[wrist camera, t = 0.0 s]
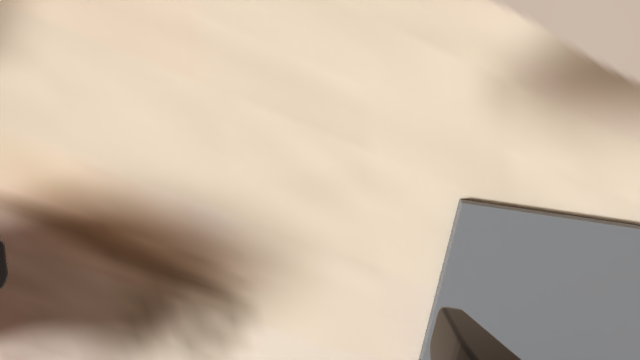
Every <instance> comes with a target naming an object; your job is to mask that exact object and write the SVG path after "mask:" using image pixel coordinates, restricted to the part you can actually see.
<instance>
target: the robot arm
mask: <svg viewBox="0 0 640 360" xmlns="http://www.w3.org/2000/svg"><path fill="white" fill-rule="evenodd" d="M7 276H8V270H7V261H6V253H5V245H4V242H3V241H2V240H1V239H0V289H1V288H2V287H3V285H4V284H5V282H6V279H7ZM430 358H431V360H521V359H520V358H519V357H518V356H516V355H515V354H514V353H513V352H512V351H510V350H509V349H508V348H507V347H506V346H505V345H503V344H502V343H501V342H500V341H499V340H497V339H496V338H495V337H494V336H493V335H492V334H490V333H489V332H488V331H487V330H486V329H484V328H483V327H482V326H481V325H480V324H479V323H477V322H476V321H475V320H474V319H473V318H471V317H470V316H469V315H468V314H467V313H466V312H464V311H463V310H461V309H458V308H451V307H441V308H440V309H439V311H438V314H437V318H436V322H435V326H434V330H433V333H432V337H431V342H430Z"/></svg>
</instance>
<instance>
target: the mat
mask: <svg viewBox="0 0 640 360" xmlns="http://www.w3.org/2000/svg"><path fill="white" fill-rule="evenodd" d="M441 307H451V308H458V309H461V310H463V311H464V312H466V313H467V314H468V315H469V316H470V317H471V318H473V319H474V320H475V321H476V322H477V323H479V324H480V325H481V326H482V327H483V328H484V329H486V330H487V331H488V332H489V333H490V334H492V335H493V336H494V337H495V338H496V339H497V340H499V341H500V342H501V343H502V344H503V345H505V346H506V347H507V348H508V349H509V350H510V351H512V352H513V353H514V354H515V355H516V356H518V357H519V358H520V359H521V360H640V225H634V224H627V223H620V222H613V221H606V220H600V219H593V218H586V217H579V216H572V215H565V214H559V213H552V212H545V211H538V210H531V209H525V208H518V207H511V206H504V205H497V204H490V203H484V202H477V201H470V200H463V199H460V200H459V204H458V208H457V212H456V216H455V220H454V224H453V228H452V231H451V235H450V239H449V243H448V247H447V251H446V255H445V259H444V263H443V267H442V271H441V275H440V279H439V283H438V287H437V291H436V295H435V299H434V303H433V307H432V310H431V314H430V318H429V322H428V326H427V330H426V334H425V338H424V342H423V346H422V350H421V354H420V358H419V360H431V358H430V342H431V337H432V333H433V330H434V326H435V322H436V318H437V314H438V311H439V309H440V308H441Z"/></svg>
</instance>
